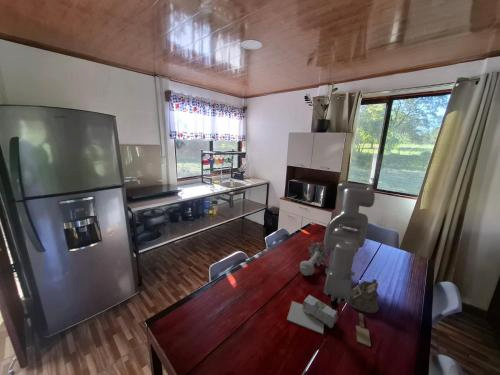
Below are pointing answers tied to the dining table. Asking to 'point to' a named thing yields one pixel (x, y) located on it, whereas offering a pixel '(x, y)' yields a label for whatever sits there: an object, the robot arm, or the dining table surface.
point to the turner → (362, 332)
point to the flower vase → (313, 259)
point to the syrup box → (320, 311)
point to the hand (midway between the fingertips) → (333, 307)
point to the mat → (304, 318)
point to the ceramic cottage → (365, 297)
